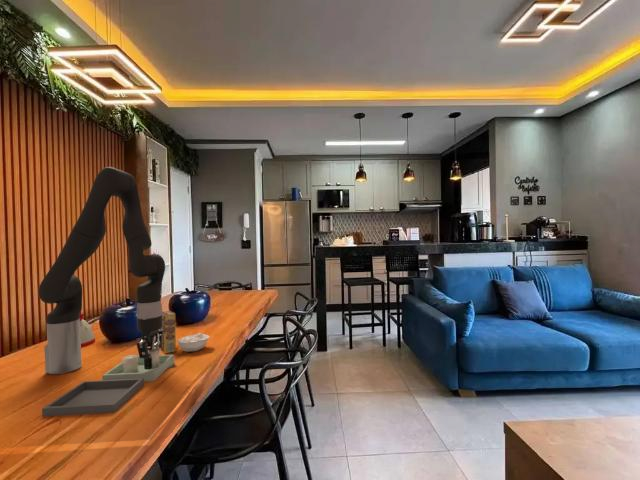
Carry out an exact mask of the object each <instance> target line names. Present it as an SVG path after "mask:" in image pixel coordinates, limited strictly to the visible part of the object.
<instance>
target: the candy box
mask: <svg viewBox="0 0 640 480" xmlns="http://www.w3.org/2000/svg"><path fill="white" fill-rule="evenodd" d="M162 319H163V327H162V328H161V329H159V330H163V337H162V347H161V348H159V349H160V350H161V351H162V352H163V353H164V354H169V353H174V352H176V349H177V347H176V313H175V312H174V311H171V310H162Z"/></svg>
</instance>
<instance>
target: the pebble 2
mask: <svg viewBox="0 0 640 480" xmlns="http://www.w3.org/2000/svg"><path fill="white" fill-rule="evenodd" d="M148 352H149V350H148ZM159 355H160V350H152V368H151V369H155V368H157V367H159V366H160V364H159ZM148 370H150V369H148Z"/></svg>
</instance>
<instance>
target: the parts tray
mask: <svg viewBox="0 0 640 480" xmlns="http://www.w3.org/2000/svg"><path fill="white" fill-rule="evenodd" d="M144 385H145V382H144V378H136V379H117V380H102V379H99V380H83V381H82V382H80V383H79V384H77V385H76V386H74V387H72V388H71V389H70V390H68V391H66V392H65V393H63V394H62V395H60V396H59V397H58V398H56V399H55V400H52V401H51V402H50V403H48V404H47V405H45V406H44V407H42V408H41V412H42V417H58V416H76V415H77V416H78V415H95V414H99V415H100V414H114V413H116V412H117V411H118V410H119V409H120V408H121V407H122V406H123V405H124V404H125V403H127V401H128V400H129V399H131V398H132V397H133V396H134V395H135V394H136V393H137V392H138V391H139V390H140V389H141V388H142V387H143V386H144Z"/></svg>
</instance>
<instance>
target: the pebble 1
mask: <svg viewBox="0 0 640 480" xmlns="http://www.w3.org/2000/svg"><path fill="white" fill-rule="evenodd" d="M138 356H139V354H130V355H126V356H124V357H122V360H121V362H122V364H123V373H137V372H138Z"/></svg>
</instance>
